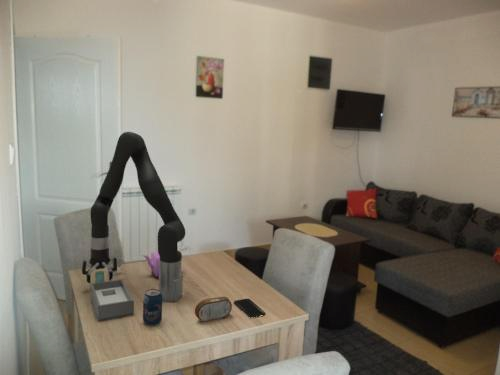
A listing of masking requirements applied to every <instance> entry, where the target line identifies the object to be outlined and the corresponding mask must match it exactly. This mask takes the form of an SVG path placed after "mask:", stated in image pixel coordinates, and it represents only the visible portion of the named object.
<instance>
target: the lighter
mask: <svg viewBox="0 0 500 375" xmlns="http://www.w3.org/2000/svg"><path fill="white" fill-rule="evenodd" d="M123 261H124V259H123V258H122V257H119V260H118V261H117V268H120V267H121V266H122V264H123ZM109 266H110V267H111V268H113V263H112V264H110V265H109ZM117 275H118V270H117V271H114V272H113V277H114V276H117ZM107 277H109V270H107Z"/></svg>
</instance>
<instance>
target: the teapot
mask: <svg viewBox="0 0 500 375" xmlns="http://www.w3.org/2000/svg"><path fill="white" fill-rule="evenodd" d="M150 253H151V254H150V255H151V256H149V255H148V254H144V255H142V257H144V258H145V259H146V261H147V265H148V267H150V270H151V272H152V273H153V275H154V277H156V278H157V279H159V264H160V256H159V254H158V250H157V251H151V252H150Z"/></svg>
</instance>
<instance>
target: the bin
mask: <svg viewBox="0 0 500 375" xmlns="http://www.w3.org/2000/svg"><path fill="white" fill-rule="evenodd" d="M90 298H91V299H90V300H91V302H92V306H93V309H94V314H95V316H96V319H97V321H98V322H102V321H109V320H112V319H113V320H114V319H119V318H122V317H123V318H125V317H130V316H134V315H135V314H134V311H135V307H134V306H135V303H134V302H135V300H134V298H133V296H132V294H131V292H130V290H129V289H128V287H127V285H126V283H125V281H124V279H114V280H111V281H109V280H108V281H107V280H106V281H104V282H99V283H95V282H93V283H90Z"/></svg>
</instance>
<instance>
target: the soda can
mask: <svg viewBox="0 0 500 375" xmlns="http://www.w3.org/2000/svg"><path fill="white" fill-rule="evenodd" d="M142 298H143V300H142V301H143V302H142V303H143V304H142V321H143V323H144V324H145V325H146V326H151V327H152V326H157V325H159V324H160V323H161V321H162V320H163V301H162V294H161V291H160V290H159V288H158V289H157V288H151V289H150V288H149V289H147V290H145V292H144V295H143V297H142Z"/></svg>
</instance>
